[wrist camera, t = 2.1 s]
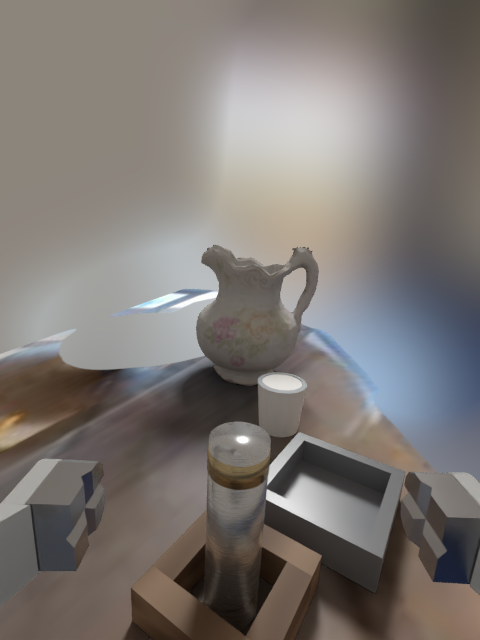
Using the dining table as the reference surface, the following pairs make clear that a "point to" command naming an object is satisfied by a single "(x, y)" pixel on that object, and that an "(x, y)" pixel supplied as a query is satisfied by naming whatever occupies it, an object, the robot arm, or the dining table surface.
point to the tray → (335, 505)
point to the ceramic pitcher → (251, 314)
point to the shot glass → (280, 403)
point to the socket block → (201, 622)
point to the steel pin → (235, 519)
